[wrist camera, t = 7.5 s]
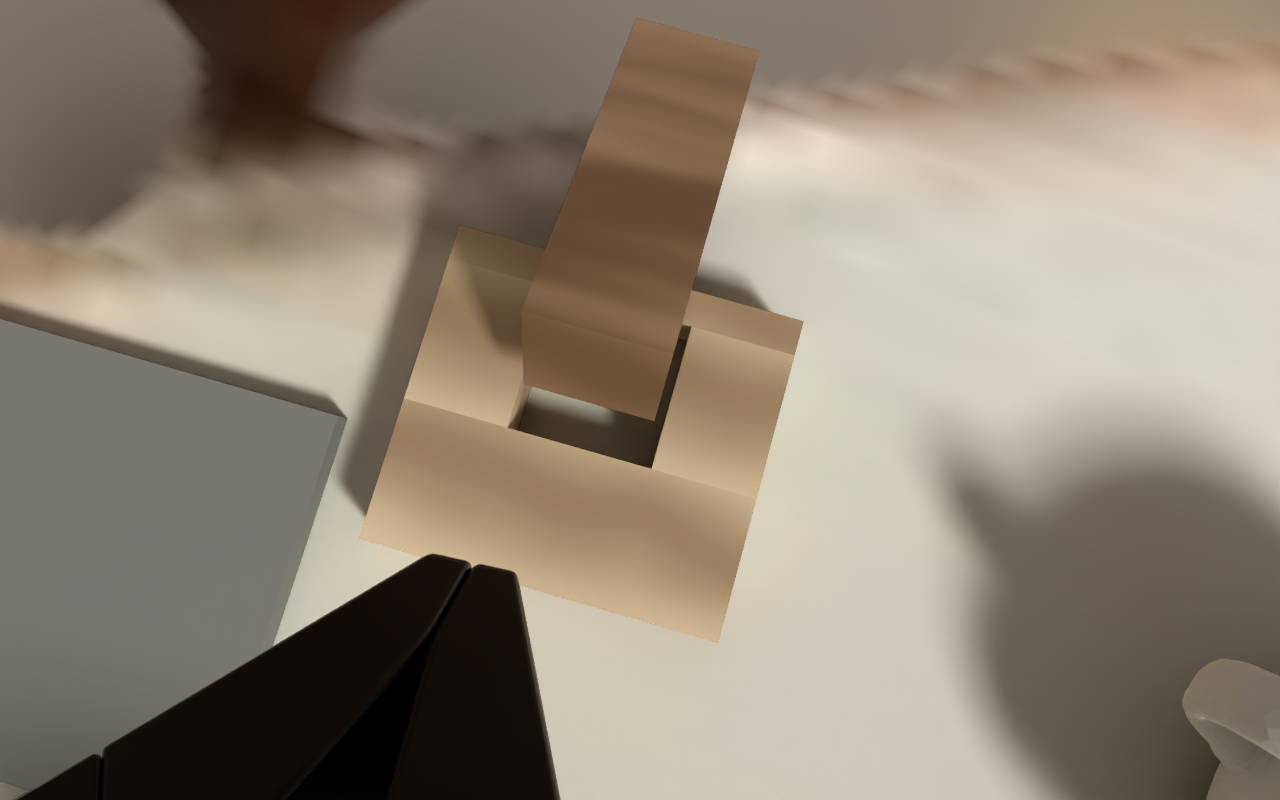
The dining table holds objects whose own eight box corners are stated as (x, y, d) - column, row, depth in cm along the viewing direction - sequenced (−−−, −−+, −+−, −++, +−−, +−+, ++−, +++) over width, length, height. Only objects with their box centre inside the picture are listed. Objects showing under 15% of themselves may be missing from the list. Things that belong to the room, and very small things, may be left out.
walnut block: (673, 354, 19) (759, 50, 24) (521, 311, 19) (636, 17, 24) (654, 421, 22) (733, 142, 27) (523, 384, 22) (624, 112, 27)
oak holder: (711, 631, 25) (718, 642, 23) (380, 535, 25) (359, 538, 23) (790, 335, 26) (803, 321, 24) (472, 246, 26) (459, 224, 24)
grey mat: (212, 829, 24) (198, 840, 23) (-192, 708, 24) (-219, 715, 24) (347, 418, 25) (338, 416, 25) (-35, 308, 26) (-57, 302, 25)
